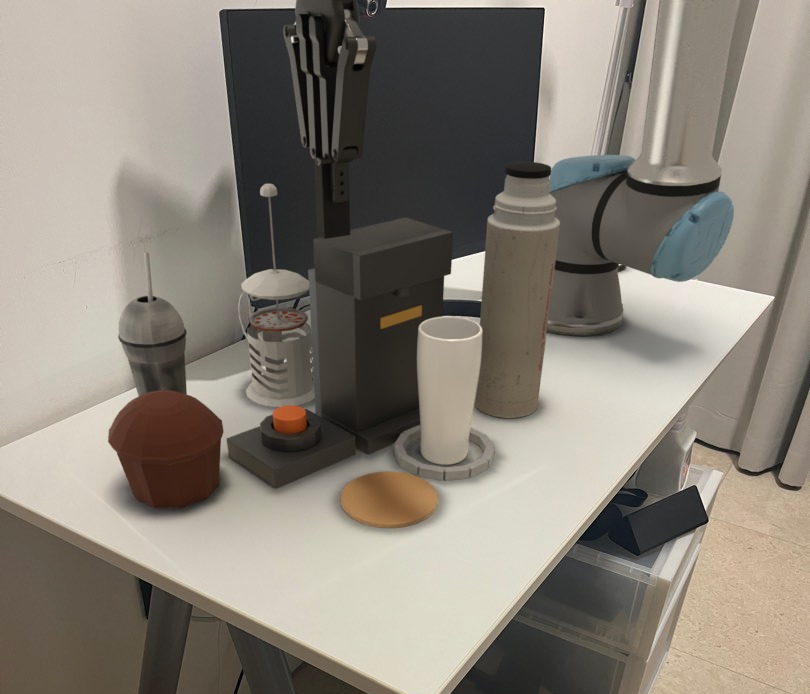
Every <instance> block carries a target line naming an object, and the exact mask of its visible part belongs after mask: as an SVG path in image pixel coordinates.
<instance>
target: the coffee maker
mask: <svg viewBox="0 0 810 694" xmlns="http://www.w3.org/2000/svg"><path fill="white" fill-rule="evenodd" d="M312 240H313V258H314V259H313V261H314V264H313V265H314V267H313V268H309V269H308V270H307V272H308V273H307V274H308V281H309V289H308V295H309V310H310V311H309V312H310V315H309V316H310V328H311V335H312V348H311V349H312V354H313V357H312V360H313V374H314V376H313V379H314V394H315V399H314V411H315V412H314V413H315V414H316V415H318V416H320V417H322V418H323V419H325V420H327V421H329V422H331V423H332V424H334V425H336V426H338V427H339V428H341V429H343V430H345V431H346V432H348V433H350V434H352V435H353V436H355V444H356V449H358V450H360V451H362V452H363V453H365V454H366V455H369V456H370V455H371V454H374V453H377V452H378V451H380V450H382V449H385V448H388V447H389V446H392V445H393V454H394V456H395V457H394V458H395V459H396V461H397V463H398V465H399V466H400V467H401V468H403V469H404V470H406V471H408V472H410V474H411V473H412V475H414V476H418V477H419V478H425V479H432V480H436V481H454V480H455V481H456V480H465V479H470V478H473V477H475V476H478V475H480V474H481V473H484V472H485V471H487V470H489V469H490V467H491V465H492V463H493V460H494V458H495V453H496V449H495V448H496V447H495V445H494V444H493V442H492V440H491V439H490V437H489V436H488V435H487V434H485V433H483V432H481V431H479V430H477V429H475V428H473V427H471V428H470V435H469V442H472V443H474V444H476V445H478V446H479V448H480V449H481V451H482V455H481V457H480V458H478V459H476V460H473V461H472V462H470V463H468V464H465V465H455V466H446V467H445V466H440V465H439V466H438V465H434V464H433V465H432V464H427V463H423V462H421V461H419V460H417V459H415V458H414V457H411V456H410V455H408V453H407V451H406V449H407V447H408V445H409V444H410V443H412V442H414V441H417V440H419V439H421V429H420V412H419V396H418V381H417V338H418V327H419V325H420V324H421V323H422V322H423V321H425V320H427V319H431V318H435V317H443V316H444V315H443V314H444V313H443V312H444V292H445V291H444V290H445V289H444V288H445V277H446V276H449V275H451V274H452V265H453V264H452V262H453V246H454V245H453V243H454V232H453V231H450V230H448V229H444V228H441V227H438V226H435V225H432V224H429V223H425V222H422V221H420V220H419V221H418V220H415V219H412V218H409V217H405V216H404V217H402V218H397V219H392V220H388V221H383V222H380V223H376V224H370V225H366V226H363V227H358V228H353V229H350V235H347V236H341V237H334V238H327V239H324V238H322V237H321V236H319V237H315V238H313V239H312Z"/></svg>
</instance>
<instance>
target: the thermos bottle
mask: <svg viewBox="0 0 810 694" xmlns="http://www.w3.org/2000/svg"><path fill="white" fill-rule="evenodd" d="M551 170H552V166H551V165H549V164H545V163H542V162H535V161H513V162H509V163H506V164H505V166H504V174H505V175H506V177H505V178H504V185H503V186H504V187H503V191H502V192H500V193H498V194H497V195H495V200H494V205H493V206H492V209H493V210H494V211H493V212H494V213H492V214H491V215H489V216H488V217H487V222H486V233H485V237H486V238H485V247H484V248H485V250H484V263H483V275H482V289H481V290H482V291H481V304H480V317H479V318H480V319H479V325H480V326H481V327H482V330H483V332H482V357H481V367H480V374H479V380H478V386H477V392H476V398H475V404H474V407H476V408H477V410H478V411H480V412H482V413H484V414H486V415H488V416H492V417H496V418H503V419H517V418H523V417H527V416H529V415H531V414H533V413H534V412H535V411H536V410H537V409H538V406H539V399H540V390H541V381H542V375H543V374H542V373H543V366H544V357H545V349H546V341H547V333H548V331H547V323H548V316H549V309H550V301H551V293H552V285H553V277H554V269H555V260H556V252H557V244H558V236H559V228H560V221H559V220H558V219H557V218H555V217H554V215H555V211H556V210H557V208H556V199H555V198H554V197H553V196H552V195H550V194H549V189H550V180H549V179H550V175H551Z"/></svg>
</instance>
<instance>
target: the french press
mask: <svg viewBox="0 0 810 694" xmlns="http://www.w3.org/2000/svg"><path fill="white" fill-rule="evenodd" d="M259 194H260V196H261V197H265V198H267V199H268V212H269V224H270V237H271V250H272V251H271V252H272V264H273V265H272V267H273V269H272V268H271V269H270V268H268V269H266V270H262V271H258V272H255V273H253V274H252V275H251V276H249V277H247V278H246V279H245V280H244V281H243V282H242V283H241V285H240V286H241V290H242V291H243V292H242V293H241V294H240V296H239V299H238V303H237V305H238V306H237V310H238V319H239V323H240V326H241V329H242V333H243V335H244V336H245V338H246V340H247V342H248V350H249V351H248V352H249V362H250V372H251V383H250V384H249V385H248V387H247V388H246V389H245V393H246V396H247V398H248V399H249V400H251V401H252V402H253V403H256V404H259V405H263V406H265V407H275V408H279V407H282V406H289V405H293V406H300V405H304V404H306V403H310V402H312V401H313V400H315V394H314V374H313V354H312V335H311V324H308V323H307V321H308V320H309V317H308V315H307V313H306V312H304V311H303V310H300V309H298V308H297V309H296V308H292V307H291V306H290V307H284V306H282V307H281V306H279V300H280V301H281V300H288V299H289V300H290V299H294V298H298V297H300V296H302V295H304V294H305V295H306V294H307V292H309V279H307V278H306V277H304V276H302V275H301V274H300V273H298V272H294V271H291V270H287V269H277V266H276V254H275V241H274V228H273V215H272V201H271V197H275V196H278V189H277V187H276V186H275V184H273V183H264V184H263V185H262V186H261V187H260V190H259ZM245 294H247V295H249V298H248V313H249V317H248V322H249V324H250V326H249V327H247V332H246V329H245V327H244V325H243V320H242V314H241V303H242V299H243V297H244V295H245ZM250 298H251V303H250ZM262 299H263V300H269V301H270V300H271V301H275V305H276V307H275V306H274V307H273V306H271V307H267V308H261V309H259V310H256V311H254V312H252V302H257V301H259V300H262ZM297 329H299V330H301V331H303V332H304V333H305V335H304V334H302V333H301V332H298V331H293V330H297ZM258 330H260V331H261V330H262V336H261V335H260V333H259V331H258ZM288 331H293V332H288ZM283 332H286V333H283ZM291 338H297V339H292V340H287V339H291ZM284 340H285V341H284ZM261 354H262V355H263V356H264V359H263V358H262V357H261ZM285 359H286V361H285ZM262 365H264V366H265V368H263V367H262Z"/></svg>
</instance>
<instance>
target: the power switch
mask: <svg viewBox="0 0 810 694" xmlns="http://www.w3.org/2000/svg"><path fill="white" fill-rule="evenodd" d="M304 409H305V411H306V417H307V428H306V429H305V430H304V431H302V432H299V433H294V434H284V433H279V432H277V431H275V429H274V423H273V413H272V414H270V415H267V416H265V417H264V419H262V421H260V423H259V426H256V427H253V428H251V429H248V430H246V431H243V432H240V433H238V434H234V435H231V436H229V437H226V445H227V446H226V447H227V453H228V458H230V459H232V460H233V461H234V462H236V463H237V464H239V465H240V466H242V467H243V468H244V469H246V470H247V471H249V472H250V473H252V474H254V476H256V477H258V478H259V479H260V480H262V481H264V482H265V483H266V484H268V485H270V486H271V487H272V488H273V489H279V488H281V487H284V486H286V485H288V484H291V483H294V482H295V481H297V480H299V479H302V478H305V477H307V476H309V475H312V474H314V473H316V472H318V471H321V470H324V469H325V468H328V467H330V466H332V465H334V464H337V463H339V462H341V461H344V460H346V459H349V458H350V457H351V458H352V457H354V456H355V455H357V454H356V453H357V451H356V449H357V448H356V444H355V436H353V435H352V434H350V433H348V432H346V431H345V430H343V429H341V428H339V427H338V426H336V425H334V424H332V423H331V422H329V421H327V420H325V419H323V418H322V417H320V416H318V415H316V414H315V412H313V411H311V410H310V409H308V408H304Z"/></svg>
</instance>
